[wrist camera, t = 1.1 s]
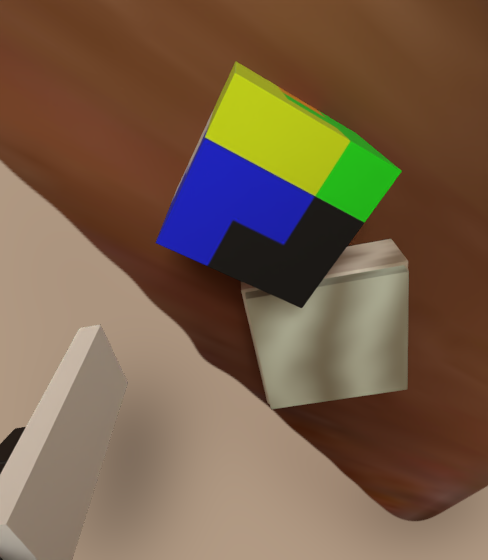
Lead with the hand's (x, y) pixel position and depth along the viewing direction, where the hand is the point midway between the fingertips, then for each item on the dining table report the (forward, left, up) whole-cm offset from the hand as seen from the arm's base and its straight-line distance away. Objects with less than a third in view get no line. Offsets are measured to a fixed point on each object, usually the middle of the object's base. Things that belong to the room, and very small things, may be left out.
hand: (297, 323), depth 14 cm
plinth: (-3, +15, -20) cm, 25 cm away
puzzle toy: (0, 0, -21) cm, 21 cm away
